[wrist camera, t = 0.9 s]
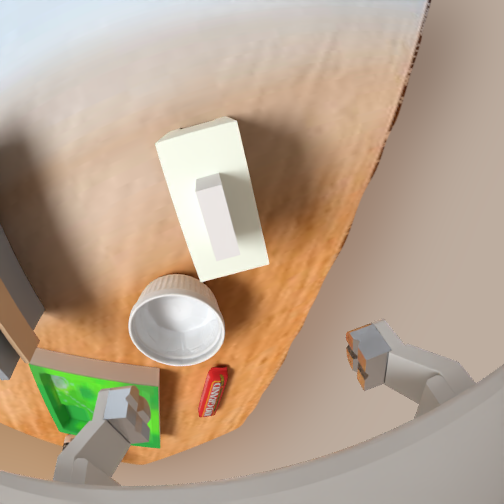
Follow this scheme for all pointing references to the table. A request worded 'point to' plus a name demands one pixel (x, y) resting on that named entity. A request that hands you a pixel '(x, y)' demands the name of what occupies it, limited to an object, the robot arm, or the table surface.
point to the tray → (90, 388)
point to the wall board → (16, 312)
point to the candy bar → (212, 391)
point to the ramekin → (177, 321)
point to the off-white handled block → (213, 197)
